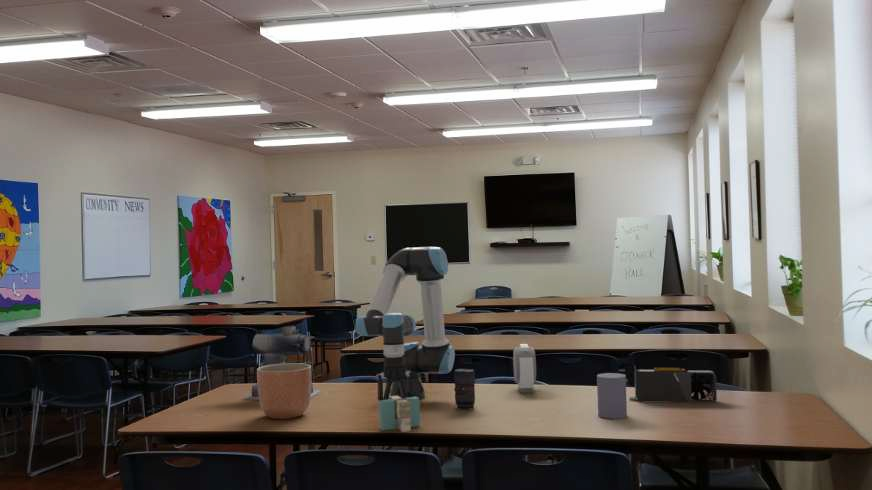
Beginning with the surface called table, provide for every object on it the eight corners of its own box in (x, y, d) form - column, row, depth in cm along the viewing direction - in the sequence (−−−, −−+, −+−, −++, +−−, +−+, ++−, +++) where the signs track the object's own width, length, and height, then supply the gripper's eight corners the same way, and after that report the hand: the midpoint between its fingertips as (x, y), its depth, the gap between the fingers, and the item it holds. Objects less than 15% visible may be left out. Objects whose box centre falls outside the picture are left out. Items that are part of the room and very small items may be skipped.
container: (610, 420, 268) (609, 378, 268) (592, 415, 277) (591, 375, 277) (633, 417, 273) (631, 375, 273) (613, 412, 282) (612, 372, 282)
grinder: (258, 391, 345) (256, 325, 345) (322, 392, 339) (320, 324, 340) (240, 399, 327) (238, 329, 327) (308, 400, 321) (306, 328, 321)
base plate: (382, 430, 263) (381, 402, 263) (379, 428, 266) (379, 400, 266) (419, 425, 268) (419, 398, 268) (416, 424, 271) (416, 396, 271)
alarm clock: (537, 393, 320) (535, 346, 320) (517, 394, 320) (516, 347, 320) (532, 386, 338) (531, 341, 338) (513, 386, 338) (512, 342, 338)
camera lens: (474, 410, 292) (472, 371, 292) (453, 409, 293) (452, 371, 293) (477, 405, 300) (476, 368, 300) (457, 405, 301) (456, 368, 301)
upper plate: (389, 423, 273) (388, 396, 273) (398, 422, 274) (397, 395, 274) (402, 432, 260) (401, 403, 260) (410, 431, 261) (409, 402, 261)
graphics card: (629, 401, 300) (628, 365, 300) (629, 399, 304) (628, 364, 304) (717, 404, 292) (716, 367, 292) (715, 401, 296) (714, 365, 296)
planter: (253, 414, 297) (252, 366, 297) (305, 408, 305) (304, 361, 305) (263, 424, 278) (262, 373, 278) (318, 418, 286) (316, 368, 286)
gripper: (372, 359, 265) (374, 424, 265) (421, 355, 271) (422, 419, 271) (367, 356, 272) (369, 420, 272) (414, 352, 278) (415, 415, 278)
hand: (395, 419), depth 271 cm, fingers open, 5 cm apart
